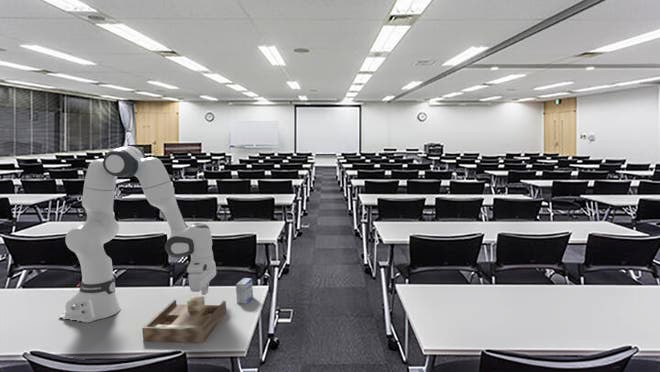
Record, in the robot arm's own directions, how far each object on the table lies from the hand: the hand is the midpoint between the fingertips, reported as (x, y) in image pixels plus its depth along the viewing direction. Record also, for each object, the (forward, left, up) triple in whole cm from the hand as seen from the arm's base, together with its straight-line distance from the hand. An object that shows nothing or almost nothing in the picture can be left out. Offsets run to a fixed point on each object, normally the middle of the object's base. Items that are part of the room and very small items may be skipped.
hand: (205, 293), depth 184 cm
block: (0, -8, -3) cm, 9 cm away
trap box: (0, -17, -6) cm, 18 cm away
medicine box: (+15, +8, -6) cm, 18 cm away
